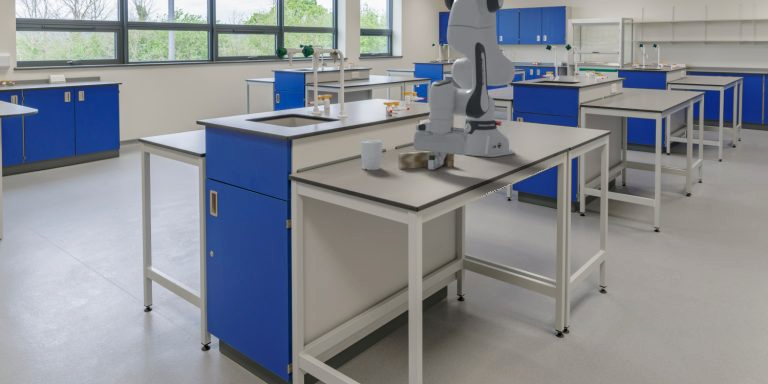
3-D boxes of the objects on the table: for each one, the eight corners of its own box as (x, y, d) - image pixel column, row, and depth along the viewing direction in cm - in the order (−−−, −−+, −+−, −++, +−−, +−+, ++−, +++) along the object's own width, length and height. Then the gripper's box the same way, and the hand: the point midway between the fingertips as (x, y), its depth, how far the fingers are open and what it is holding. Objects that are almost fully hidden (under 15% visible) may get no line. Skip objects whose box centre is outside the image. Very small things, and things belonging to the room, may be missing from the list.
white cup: (368, 171, 220) (368, 143, 217) (356, 167, 226) (356, 140, 224) (386, 169, 224) (386, 141, 222) (373, 165, 231) (374, 138, 228)
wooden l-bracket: (445, 163, 235) (445, 149, 234) (453, 166, 230) (454, 151, 229) (398, 168, 226) (398, 153, 225) (406, 171, 221) (406, 156, 220)
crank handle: (438, 164, 232) (439, 150, 231) (445, 164, 231) (446, 151, 229) (426, 169, 222) (427, 155, 221) (434, 170, 221) (434, 156, 220)
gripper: (471, 127, 217) (470, 166, 220) (419, 123, 227) (419, 160, 230) (464, 129, 211) (462, 169, 215) (411, 125, 221) (411, 163, 225)
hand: (439, 164), depth 222 cm, fingers closed
